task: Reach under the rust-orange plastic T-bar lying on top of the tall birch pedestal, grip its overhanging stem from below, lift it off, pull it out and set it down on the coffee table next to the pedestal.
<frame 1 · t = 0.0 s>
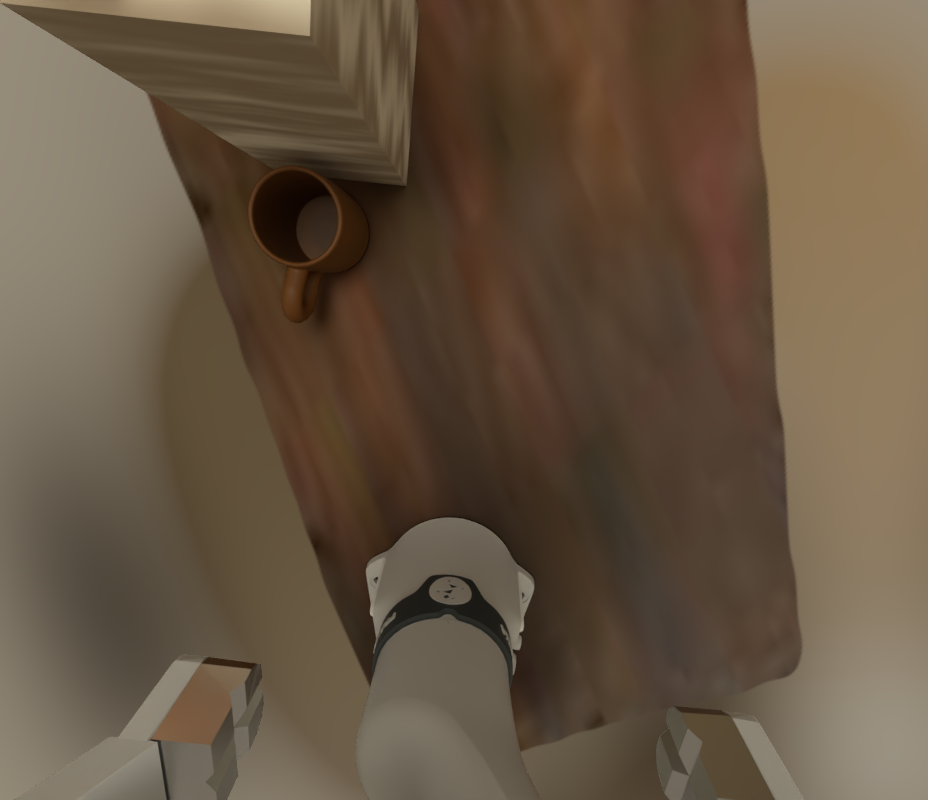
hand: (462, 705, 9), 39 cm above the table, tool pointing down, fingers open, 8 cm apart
mug: (329, 256, 45), on the table
pedestal: (345, 95, 42), on the table
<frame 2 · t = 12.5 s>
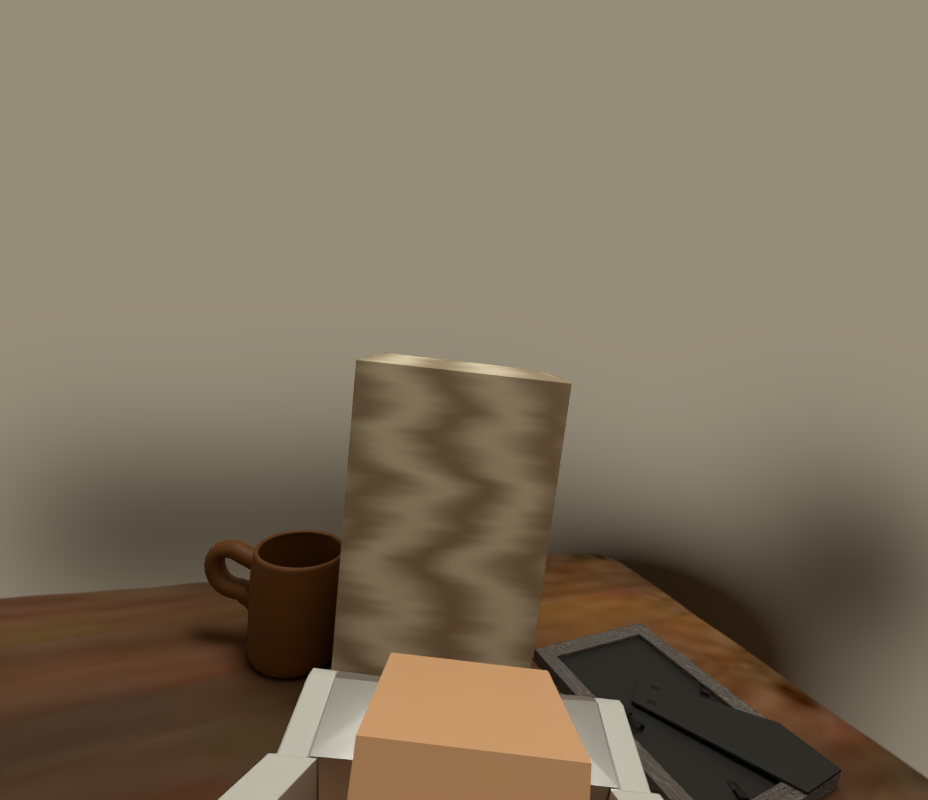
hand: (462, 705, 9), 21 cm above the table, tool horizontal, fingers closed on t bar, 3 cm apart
mug: (269, 648, 40), on the table
pedestal: (429, 670, 39), on the table
picture frame: (663, 723, 37), on the table
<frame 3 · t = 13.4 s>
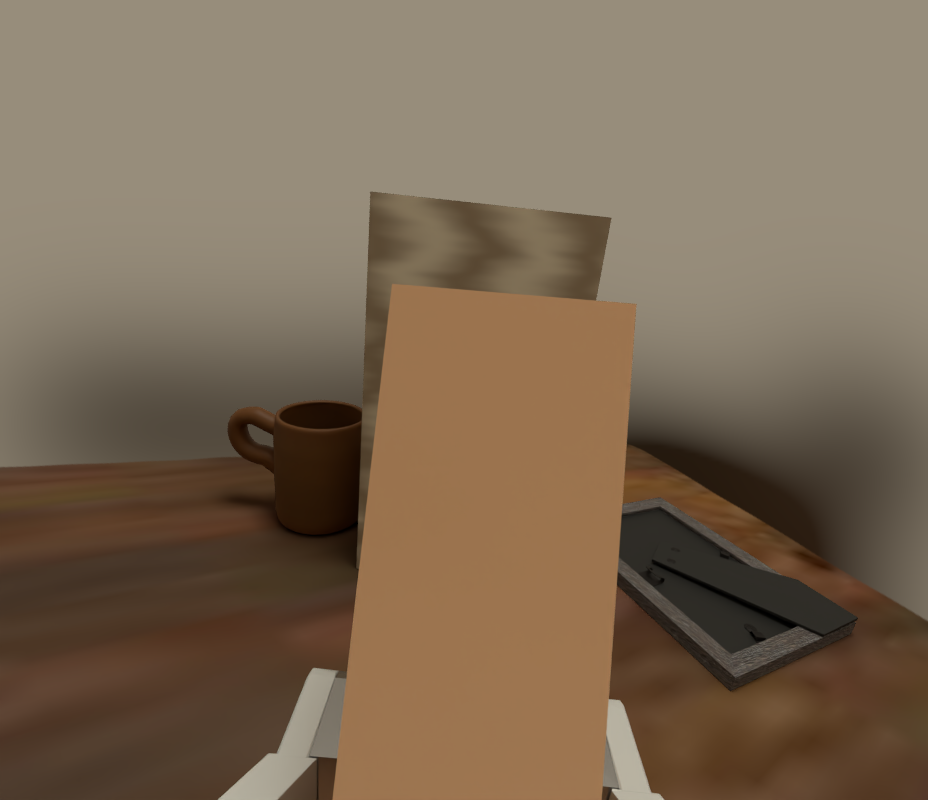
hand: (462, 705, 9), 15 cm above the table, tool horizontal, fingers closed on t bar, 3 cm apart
mug: (297, 511, 41), on the table
pedestal: (453, 531, 40), on the table
picture frame: (682, 580, 39), on the table
when the fingers open (14 cm above the table, at t = 14.3 s): t bar drops 4 cm and tips over, point 4 cm above the table.
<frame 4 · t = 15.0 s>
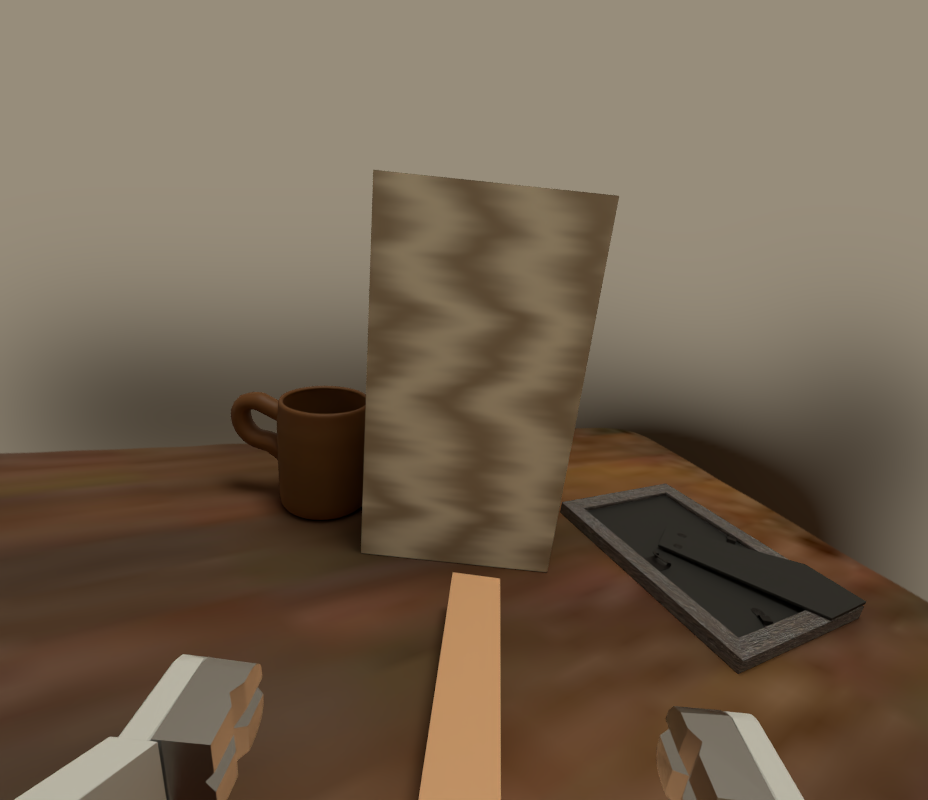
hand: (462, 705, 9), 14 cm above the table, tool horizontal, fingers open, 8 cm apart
mug: (301, 497, 41), on the table
pedestal: (457, 517, 40), on the table
picture frame: (688, 565, 38), on the table
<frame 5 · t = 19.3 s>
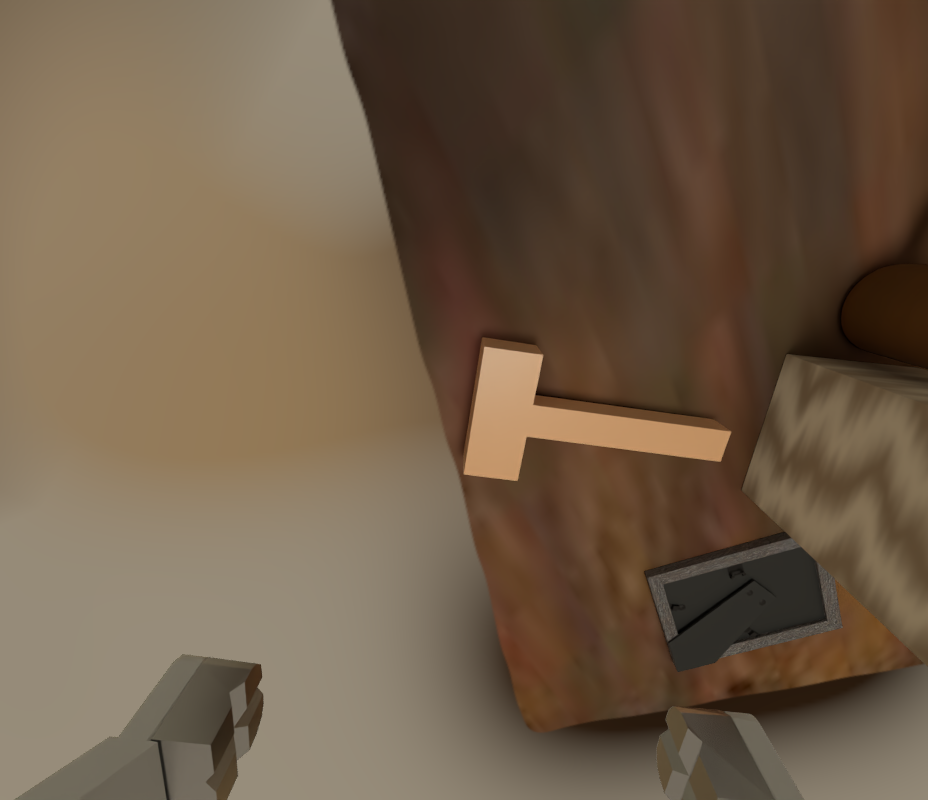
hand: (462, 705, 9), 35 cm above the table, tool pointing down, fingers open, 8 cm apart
t bar: (540, 422, 41), point 4 cm above the table, tilted 178°
mug: (892, 282, 40), on the table
pedestal: (825, 432, 44), on the table
picture frame: (737, 591, 51), on the table
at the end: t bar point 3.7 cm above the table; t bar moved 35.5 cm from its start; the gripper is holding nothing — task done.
